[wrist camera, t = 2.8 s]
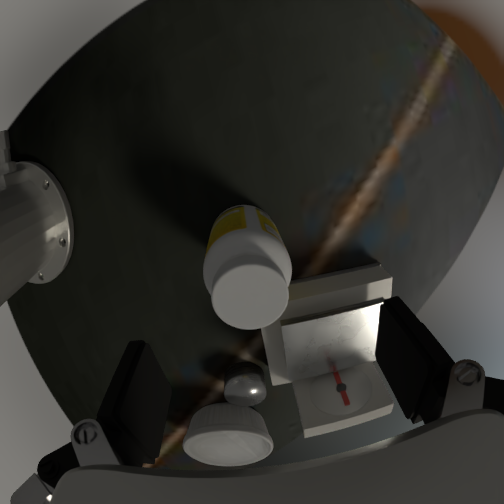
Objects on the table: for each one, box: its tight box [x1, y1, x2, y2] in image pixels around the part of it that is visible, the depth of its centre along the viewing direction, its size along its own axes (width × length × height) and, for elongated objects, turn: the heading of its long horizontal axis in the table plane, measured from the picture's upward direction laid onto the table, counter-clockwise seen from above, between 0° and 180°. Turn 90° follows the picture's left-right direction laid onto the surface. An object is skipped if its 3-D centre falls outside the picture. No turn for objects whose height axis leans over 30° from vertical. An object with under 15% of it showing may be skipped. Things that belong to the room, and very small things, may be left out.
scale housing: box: [261, 262, 394, 438], centre depth 22 cm, size 10×12×10 cm
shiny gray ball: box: [224, 362, 266, 407], centre depth 28 cm, size 4×4×3 cm
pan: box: [280, 297, 385, 382], centre depth 23 cm, size 7×9×2 cm
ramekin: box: [183, 403, 273, 466], centre depth 30 cm, size 11×11×5 cm
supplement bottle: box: [203, 205, 292, 330], centre depth 19 cm, size 5×5×10 cm
